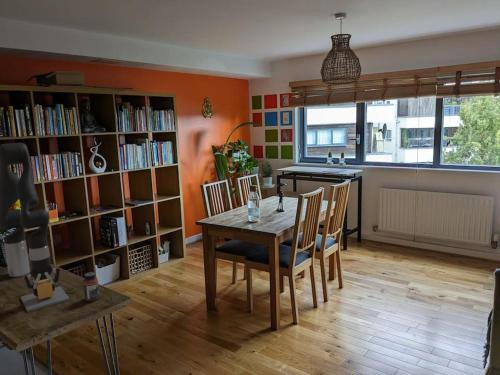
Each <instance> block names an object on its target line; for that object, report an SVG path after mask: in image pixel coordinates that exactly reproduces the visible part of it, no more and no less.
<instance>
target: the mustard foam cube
mask: <svg viewBox="0 0 500 375" xmlns="http://www.w3.org/2000/svg"><path fill="white" fill-rule="evenodd" d="M36 286H37V287H36V288H37V294H38V299H43V298H47V297H51V296H53V289H52V282H50V281H49V280H48V278H47V279H43V280H40V281H39V282H38V284H37V285H36Z"/></svg>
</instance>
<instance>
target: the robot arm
mask: <svg viewBox="0 0 500 375" xmlns="http://www.w3.org/2000/svg"><path fill="white" fill-rule="evenodd" d="M13 165H22V172H21V175H20V177H18V176H17V175H16V174H15V173H14V172H13V170H11V169H10V168H9V166H13ZM18 201H19V205H20V208H15V209H11V208H12V207H14V205H15V204H16V203H17V202H18ZM39 204H40V199H39V196H38V193H37V189H36V186H35V182H34V176H33V168H32V164H31V159H30V153H29V149H28V147H27V145H26V144H25V143H24V142H11V143H2V144H0V230H5V231H6V230H11V229H14V230H13V231H12V232H10V233H9V234H7V235H5V236H4V237H3V243H4V244H3V245H4V249H5V257H6V264H7V271H8V276H9V277H12V278H17V277H21V276H23V279H24V281H25V284H26V286H27V288H28V289H29V290H31V289H32V294H34V296H36V297H38V294H37V288H36V287H37V286H36V285H37V284H38V282H39V281H41V280H45V279H48V280H49V281H50V282H52V289H53V291H55V288H56V287H55V286H56V285H55V284H56V283H57V282H59V281H60V280H59V277H60V268H59V267H58V266H56V267H52V263H51V253H50V248H49V244H48V227H49V223H50V214H49V212H48V211H47V210H46V209H44V208H43V209H41V208H40V209H35V210H30V209H32V208H35V207H37V206H39ZM34 228H37V230H35V231H33V232H31V233H29V234H28V236H27V242H28V247H27V242H26V232H25V229H27V230H29V229H30V230H31V229H34ZM29 262H30V263H29ZM52 273H54V278H52V277H51V274H52ZM31 277H32V278H33V282H32V284H31V282H30V279H31Z"/></svg>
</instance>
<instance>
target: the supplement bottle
mask: <svg viewBox="0 0 500 375" xmlns="http://www.w3.org/2000/svg"><path fill="white" fill-rule="evenodd" d="M82 284H83V285H82V286H83V295H84V300H85V301H86V302H94V301H97V300H98V299H99V298H100V296H101V295H100V286H99V279H98V277H97V276H96V273H95V272H91V271H90V272H86V273H85V274H84V279H83V280H82Z"/></svg>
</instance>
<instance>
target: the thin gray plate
mask: <svg viewBox="0 0 500 375" xmlns="http://www.w3.org/2000/svg"><path fill="white" fill-rule="evenodd" d="M20 298H21V301H22V303H23V306H24V307H25V310H26V312H27V313H29V312H33V311H37V310H40V309H45V308H48V307H51V306H54V305H58V304H62V303H65V302H68V301H69V302H70V299H71V298H70V297H69V295H68V294H67V293H66V292H65V290H64V289H63V288H62V286H57V287H55V291H53V296H51V297H47V298H43V299H38V297H36V296H34V294H33V293H29V294H26V295H23V296H20Z"/></svg>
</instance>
